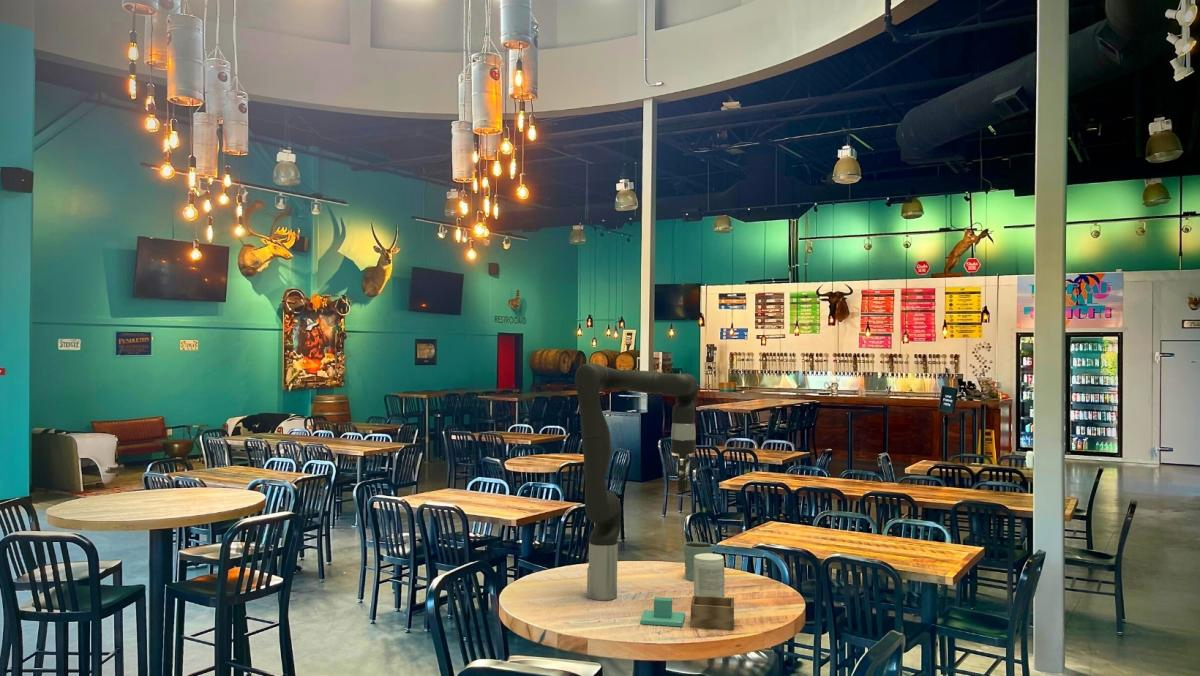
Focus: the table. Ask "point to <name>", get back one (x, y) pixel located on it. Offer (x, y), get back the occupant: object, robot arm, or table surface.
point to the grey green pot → (691, 551)
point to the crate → (712, 612)
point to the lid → (662, 614)
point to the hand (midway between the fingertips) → (683, 490)
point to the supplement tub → (709, 575)
